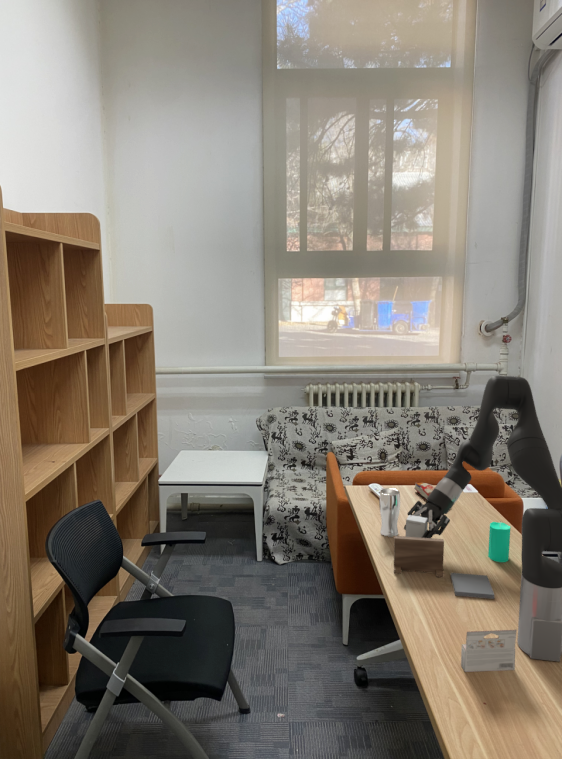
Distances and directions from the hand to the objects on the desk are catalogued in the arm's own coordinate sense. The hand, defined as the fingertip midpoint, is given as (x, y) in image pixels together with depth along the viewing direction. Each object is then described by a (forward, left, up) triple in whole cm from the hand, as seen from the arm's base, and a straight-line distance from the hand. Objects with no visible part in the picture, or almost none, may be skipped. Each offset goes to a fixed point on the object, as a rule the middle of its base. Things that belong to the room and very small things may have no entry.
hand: (414, 536), depth 164 cm
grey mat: (-17, -15, -6) cm, 23 cm away
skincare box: (0, -1, -6) cm, 7 cm away
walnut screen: (-10, -1, -6) cm, 11 cm away
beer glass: (+14, +7, -6) cm, 17 cm away
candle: (+2, -26, -6) cm, 27 cm away
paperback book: (+49, -10, -7) cm, 50 cm away
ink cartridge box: (-50, -13, -7) cm, 52 cm away
